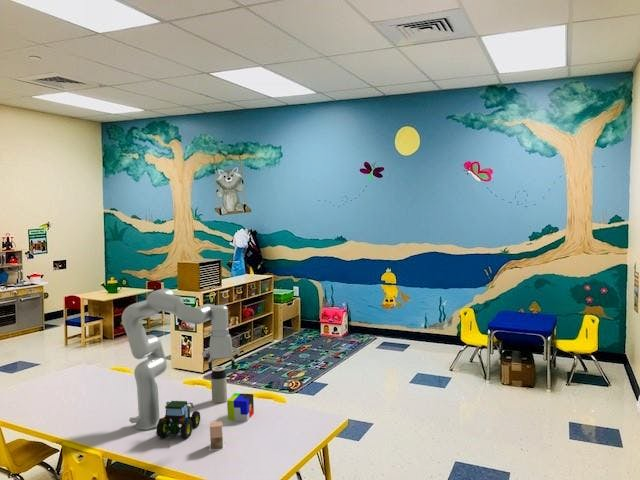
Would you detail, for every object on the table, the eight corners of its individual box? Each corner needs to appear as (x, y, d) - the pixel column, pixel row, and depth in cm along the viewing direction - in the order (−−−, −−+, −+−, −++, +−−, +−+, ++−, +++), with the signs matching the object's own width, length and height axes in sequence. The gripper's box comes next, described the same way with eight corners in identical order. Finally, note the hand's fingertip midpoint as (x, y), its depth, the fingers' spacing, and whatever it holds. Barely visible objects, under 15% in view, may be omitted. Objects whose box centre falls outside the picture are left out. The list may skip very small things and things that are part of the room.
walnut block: (210, 449, 226) (210, 438, 226) (211, 444, 231) (210, 433, 231) (222, 448, 227) (222, 437, 227) (222, 443, 232) (222, 432, 231)
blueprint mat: (197, 456, 222) (197, 454, 222) (199, 443, 234) (198, 442, 234) (230, 452, 224) (230, 451, 224) (230, 440, 236) (230, 439, 236)
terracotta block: (210, 438, 226) (209, 427, 225) (210, 433, 231) (210, 422, 230) (222, 437, 227) (221, 425, 226) (222, 432, 231) (221, 421, 231)
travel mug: (229, 398, 287) (228, 366, 286) (224, 403, 279) (222, 370, 278) (215, 397, 289) (214, 365, 287) (209, 403, 281) (208, 370, 280)
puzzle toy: (247, 421, 256) (246, 401, 256) (227, 420, 258) (227, 400, 258) (253, 413, 266) (253, 394, 265) (235, 412, 268) (234, 393, 267)
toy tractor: (202, 423, 255) (201, 393, 254) (184, 444, 234) (183, 411, 233) (174, 422, 257) (173, 393, 256) (154, 442, 236) (153, 410, 235)
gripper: (200, 336, 235) (202, 373, 236) (239, 333, 238) (241, 370, 239) (201, 332, 242) (203, 368, 243) (239, 329, 245) (240, 365, 246)
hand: (221, 369), depth 241 cm, fingers open, 9 cm apart
